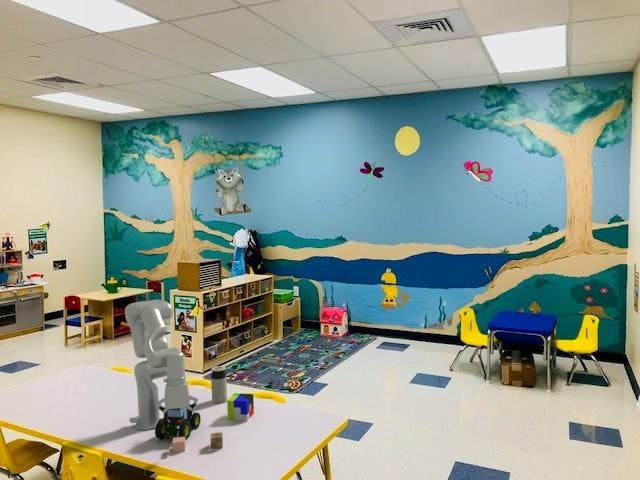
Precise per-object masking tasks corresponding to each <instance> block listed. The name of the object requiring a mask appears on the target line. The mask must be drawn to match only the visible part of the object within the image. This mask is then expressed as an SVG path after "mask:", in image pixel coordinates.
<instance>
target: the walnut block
mask: <svg viewBox="0 0 640 480" xmlns="http://www.w3.org/2000/svg"><path fill="white" fill-rule="evenodd" d="M209 439H210V444H211V450H212V449H222V448H223V442H224V441H223V431H222V432H221V431H219V432H213V433H211V432H210V438H209ZM222 450H223V449H222ZM212 451H213V450H212Z"/></svg>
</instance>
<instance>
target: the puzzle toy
mask: <svg viewBox="0 0 640 480" xmlns="http://www.w3.org/2000/svg"><path fill="white" fill-rule="evenodd" d="M226 404H227V407H226V409H227V420H228V421H238V422H248V421H249V420H250V419H251V418H252V416H253V415H254V414H255V410H254V409H255V408H254V407H255V406H254V394H253V393H241V392H239V393H238V392H234V393H233V394H232V395H231V396H230V397H229V398H227V401H226Z"/></svg>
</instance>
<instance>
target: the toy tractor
mask: <svg viewBox="0 0 640 480" xmlns="http://www.w3.org/2000/svg"><path fill="white" fill-rule="evenodd" d="M190 404H191V403H190ZM192 404H193V403H192ZM192 404H191V405H192ZM163 407H164V408H165V406H163ZM167 411H168V422H166V420H164V417H163V418H161V419H160V420H159V421H158V422H157V424H156V427H155V428H154V435H155V437H156V439H159V440H163V438H164V439H165V438H167V439H170V438H175V437H176V436H177V435H178V437H185V440H188V439H189V438H190V436H191V432H192V430H198V429H199V428H200V426H201V425H200V424H201V413H199V412H195V411H194V412H192V417H191V420H189V415H188V411H189V409H188V408H187V407H186V408H178V409H168V410H167ZM178 427H179V428H178Z"/></svg>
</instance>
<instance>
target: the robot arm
mask: <svg viewBox="0 0 640 480" xmlns="http://www.w3.org/2000/svg"><path fill="white" fill-rule="evenodd" d="M124 315H125V316H124V317H125V320H126V322H127V325H128V326H129V329H130V333H131V338H132V344H133V349H134V351H133V352H134V353H135V356H136V358H137V359H145V358H146V360H142V361H140V362H137V364H135V366H134V369H133V371H134V372H133V373H134V377H135V378H134V379H135V381H136V391H137V410H138V411H137V413H138V416H136V417H129V422H130V423H131V424H135V428H136V429H137V430H139V431H140V430H141V431H149V430H153V429H154V430H155V427H156V424H157V422H158V421H159V420H160V419H162V418H161V417H160V411H161V412H162V414H163V418H164V420H166V422H168V411H167V410H168V409H178V408H186V407H187V408H188V409H189V411H188V415H189V420H191V417H192V414H193V410H194V408H195V407H196V405H197V403H198V401H199V398H198V397H195V396H192V395H190V389H189V386H188V382H187V381H186V365H185V354H184V353H183V351H181V350H180V349H179V348H178V347H174V346H173V347H170V346H169V343H168V339H167V337H165V335H166V334H167V331H168V328H167V325H166V323H165V320H169V319H171V318H172V317H173V308H172V306H171V304H170V303H169V302H168V301H166V300H163V299H152V300H145V301H137V302H132V303H129V304H128V305H127V306H126V307H125V309H124ZM165 377H166V378H165ZM161 378H164V379H163V383H166V384H165V387H164V397H163V398H162V399H160V400H159V388H158V386H157V384H156V383H155V382H153V380H157V379H161ZM191 401H192V402H193V403H192V405H191V403H190V402H191ZM163 403H164V405H162V404H163ZM164 407H165V408H164Z"/></svg>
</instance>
